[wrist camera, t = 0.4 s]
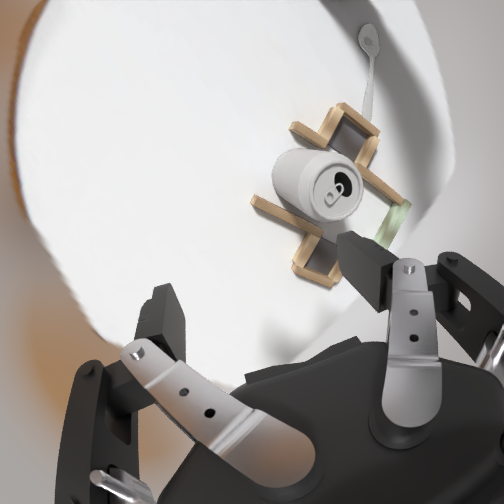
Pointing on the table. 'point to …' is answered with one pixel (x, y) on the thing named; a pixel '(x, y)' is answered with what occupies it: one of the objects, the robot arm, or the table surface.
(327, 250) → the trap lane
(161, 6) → the table surface
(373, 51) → the spoon
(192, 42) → the table surface
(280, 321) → the table surface
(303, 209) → the can
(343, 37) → the table surface
